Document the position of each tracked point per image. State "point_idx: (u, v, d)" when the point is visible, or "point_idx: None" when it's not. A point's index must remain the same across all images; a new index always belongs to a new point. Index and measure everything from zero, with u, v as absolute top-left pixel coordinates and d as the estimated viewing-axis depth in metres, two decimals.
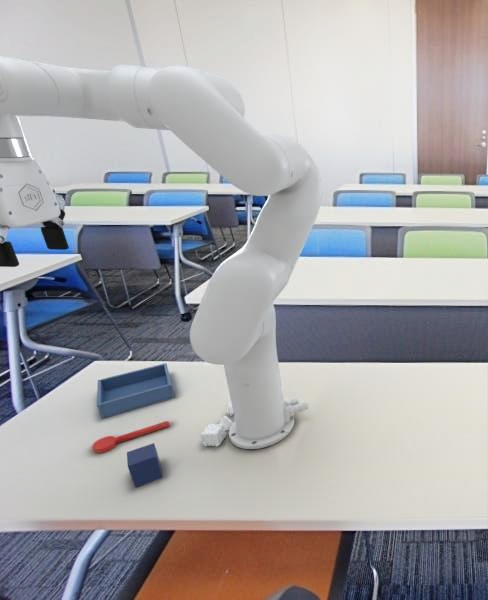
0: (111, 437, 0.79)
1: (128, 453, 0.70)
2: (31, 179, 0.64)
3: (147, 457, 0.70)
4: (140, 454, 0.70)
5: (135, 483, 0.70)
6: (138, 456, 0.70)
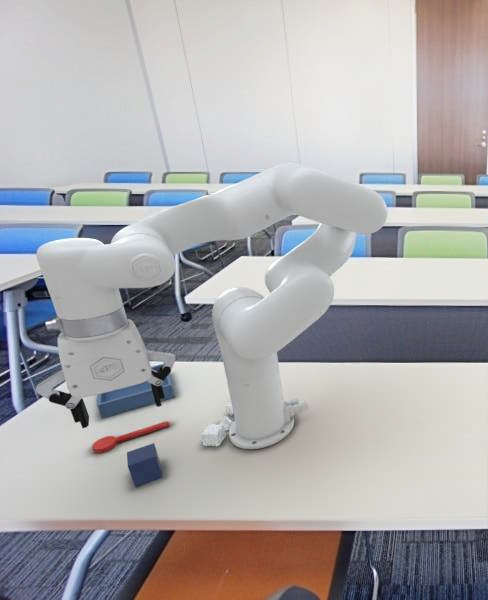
0: (111, 437, 0.79)
1: (128, 453, 0.70)
2: (112, 351, 0.61)
3: (147, 457, 0.70)
4: (140, 454, 0.70)
5: (135, 483, 0.70)
6: (138, 456, 0.70)
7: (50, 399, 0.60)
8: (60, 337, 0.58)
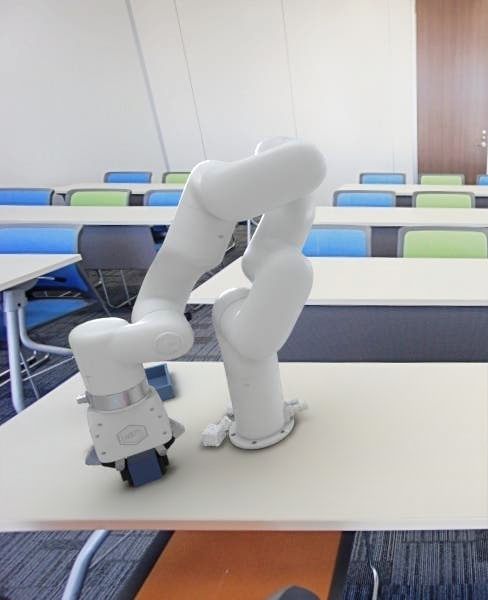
0: None
1: None
2: (136, 419, 0.66)
3: (147, 457, 0.70)
4: (140, 454, 0.70)
5: (135, 483, 0.70)
6: (138, 456, 0.70)
7: (102, 464, 0.66)
8: (89, 409, 0.63)
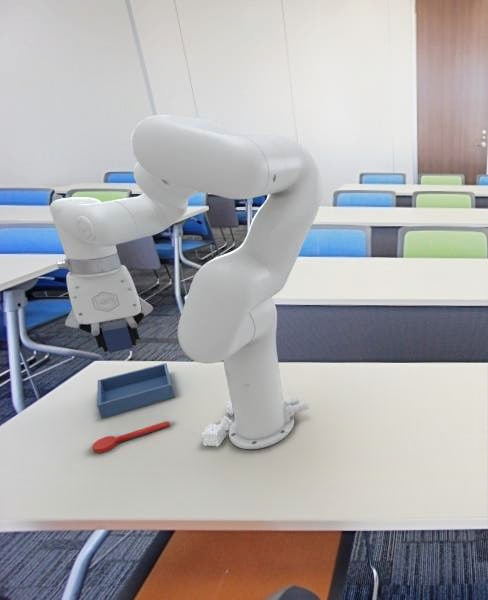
0: (111, 437, 0.79)
1: (103, 324, 0.82)
2: (109, 288, 0.77)
3: (119, 327, 0.82)
4: (113, 325, 0.82)
5: (109, 349, 0.81)
6: (111, 326, 0.82)
7: (80, 327, 0.78)
8: (68, 275, 0.75)
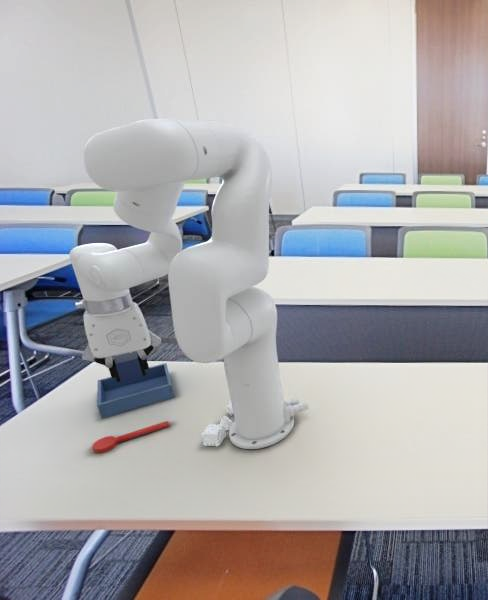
0: (111, 437, 0.79)
1: (116, 356, 0.89)
2: (122, 325, 0.84)
3: (130, 359, 0.88)
4: (125, 357, 0.89)
5: (121, 379, 0.88)
6: (123, 358, 0.88)
7: (95, 360, 0.85)
8: (85, 314, 0.81)
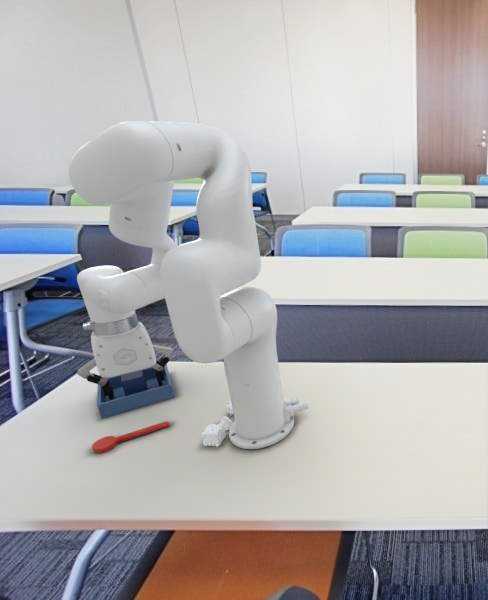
0: (111, 437, 0.79)
1: None
2: (128, 345, 0.86)
3: (136, 376, 0.90)
4: (130, 374, 0.91)
5: None
6: (129, 376, 0.90)
7: (88, 379, 0.85)
8: (92, 335, 0.83)
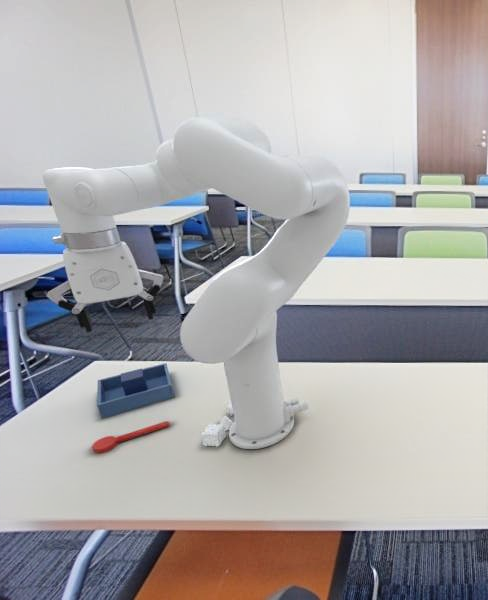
0: (111, 437, 0.79)
1: (121, 374, 0.91)
2: (108, 264, 0.73)
3: (136, 376, 0.90)
4: (130, 374, 0.91)
5: None
6: (129, 376, 0.90)
7: (59, 304, 0.72)
8: (65, 250, 0.70)
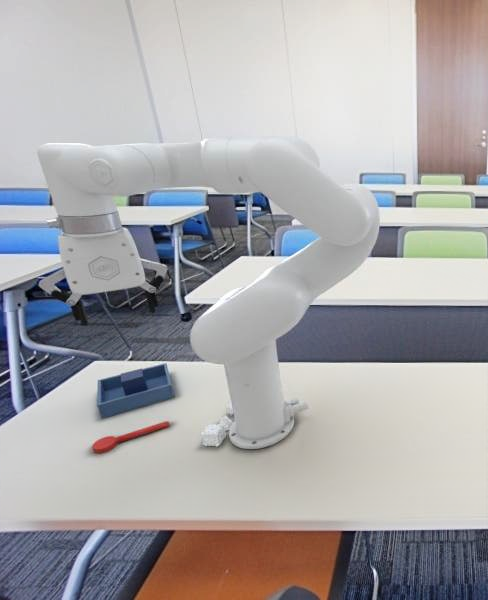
0: (111, 437, 0.79)
1: (121, 374, 0.91)
2: (108, 252, 0.66)
3: (136, 376, 0.90)
4: (130, 374, 0.91)
5: None
6: (129, 376, 0.90)
7: (52, 294, 0.65)
8: (60, 235, 0.63)
